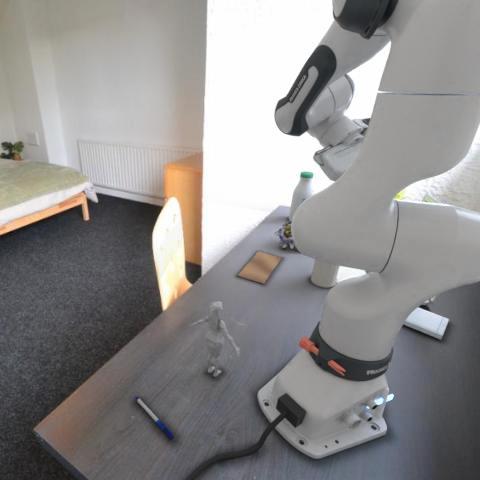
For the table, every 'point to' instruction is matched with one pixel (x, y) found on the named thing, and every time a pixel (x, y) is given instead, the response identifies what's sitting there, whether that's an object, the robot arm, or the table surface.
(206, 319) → the human figurine
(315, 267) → the bottle
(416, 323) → the hard drive
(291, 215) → the milk bottle
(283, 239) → the passion flower
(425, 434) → the table surface
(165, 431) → the ballpoint pen
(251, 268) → the tan flat rectangular board
